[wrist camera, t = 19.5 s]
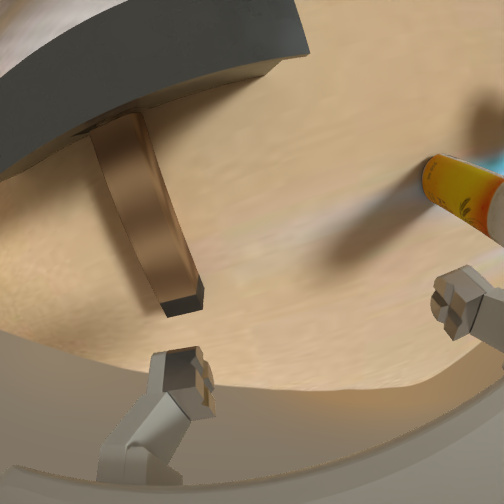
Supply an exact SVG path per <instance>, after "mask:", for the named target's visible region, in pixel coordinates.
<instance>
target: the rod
mask: <svg viewBox="0 0 504 504" xmlns="http://www.w3.org/2000/svg"><path fill="white" fill-rule="evenodd" d="M89 133H90V136H91V139H92V143H93V146H94V149H95V152H96V155H97V158H98V160H99V163H100V166H101V169H102V172H103V174H104V177H105V180H106V183H107V185H108V188H109V191H110V193H111V196H112V198H113V201H114V203H115V206H116V208H117V211H118V213H119V216H120V218H121V221H122V223H123V225H124V228H125V230H126V233H127V235H128V237H129V239H130V242H131V244H132V246H133V248H134V251H135V253H136V255H137V257H138V260H139V262H140V264H141V266H142V268H143V270H144V272H145V274H146V277H147V279H148V281H149V283H150V285H151V287H152V289H153V291H154V293H155V295H156V297H157V299H158V301H159V303H160V305H161V307H162V309H163V310H164V312H165V314H166V316H167V318H169V317H173V316H178V315H182V314H186V313H191V312H195V311H199V310H203V299H204V286H203V284H202V281H201V279H200V276H199V274H198V271H197V269H196V266H195V264H194V261H193V258H192V256H191V253H190V251H189V248H188V246H187V243H186V240H185V238H184V235H183V232H182V230H181V227H180V224H179V222H178V219H177V216H176V214H175V211H174V208H173V205H172V203H171V200H170V197H169V194H168V191H167V188H166V186H165V183H164V180H163V177H162V174H161V171H160V168H159V165H158V162H157V159H156V156H155V153H154V150H153V147H152V144H151V141H150V138H149V134H148V131H147V128H146V125H145V122H144V118H143V115H142V113H129V114H127V115H124V116H122V117H120V118H117V119H115V120H113V121H111V122H108V123H106V124H104V125H102V126H100V127H98V128H96V129H93V130H91V131H89Z"/></svg>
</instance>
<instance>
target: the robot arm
mask: <svg viewBox="0 0 504 504" xmlns="http://www.w3.org/2000/svg"><path fill="white" fill-rule="evenodd" d="M433 287H434V288H435V292H434V293H433V295H432V296H431V302H430V306H431V311H432V313H433V315H434V317H435V318H436V320H437V321H439V322H441V323H444V330H445V331H446V332H447V334H448V335H449V336H450V338H451V339H452V340H453V341H455V340H457V339H459V338H461V337H463V336H465V335H467V334H469V333H470V334H471V335H472V336H474V337H476V338H478V339H480V340H481V341H483V342H485V343H487V344H489V345H490V346H492V347H494V348H496V349H498V350H499V351H501V352H503V353H504V289H501V288H498V287H497V288H494V287H493V286H492V285H491V284H490V283H489V282H488V281H487V280H486V279H485V278H484V277H483V276H481V275H480V274H479V273H478V272H477V271H476V270H475V269H474V268H473V267H471V266H469V265H465V266H463V267H461V268H458V269H456V270H453V271H451V272H448V273H446V274H444V275H441V276H439V277H437V278H436V279H435V281H434V286H433ZM502 368H503V369H504V362H503V364H502ZM213 390H214V380H213V375H212V371H211V368H210V366H209V364H208V362H207V361H205V360H203V352H202V350H201V349H200V347H199V346H194V347H188V348H182V349H176V350H169V351H164V352H157V353H153V355H152V357H151V362H150V369H149V375H148V383H147V390H146V394H144V395H141V397H140V398H139V399H138V400H137V401H136V403H135V404H134V405H133V406H132V408H131V409H130V410H129V412H128V413H127V414H126V415H125V416H124V417H123V419H122V420H121V421H120V423H119V424H118V425H117V426H116V427H115V429H114V430H113V431H112V432H111V433H110V435H109V436H108V437H107V438H106V440H105V441H104V442H103V443H102V445H101V449H100V455H99V462H98V470H97V478H96V481H90V480H84V479H77V478H71V477H66V476H60V475H55V474H51V473H47V472H42V471H38V470H35V469H31V468H27V467H24V466H20V465H12V466H10V467H9V468H8V469H6V470H5V471H4V472H3V473H2V474H1V475H0V504H504V376H503V377H502V378H500V379H499V380H498V381H496V382H495V383H493V384H492V385H490V386H489V387H488V388H486V389H484V390H483V391H481V392H480V393H478V394H477V395H475V396H474V397H472V398H470V399H469V400H467V401H466V402H464V403H462V404H461V405H459V406H457V407H456V408H454V409H452V410H450V411H448V412H447V413H445V414H443V415H441V416H439V417H437V418H436V419H434V420H432V421H430V422H428V423H426V424H424V425H422V426H420V427H418V428H416V429H414V430H411V431H409V432H407V433H405V434H403V435H400V436H398V437H396V438H393V439H391V440H389V441H386V442H384V443H381V444H379V445H376V446H374V447H371V448H368V449H366V450H363V451H360V452H357V453H354V454H352V455H349V456H345V457H342V458H339V459H336V460H333V461H330V462H326V463H322V464H319V465H315V466H311V467H307V468H303V469H299V470H295V471H291V472H286V473H282V474H276V475H271V476H266V477H260V478H254V479H247V480H240V481H232V482H224V483H212V484H199V485H183V479H182V478H183V477H182V475H181V474H180V473H179V472H177V471H176V470H174V469H173V468H171V467H170V466H168V463H169V462H170V460H171V458H172V456H173V455H174V453H175V451H176V449H177V447H178V446H179V444H180V442H181V440H182V438H183V437H184V435H185V433H186V431H187V429H188V427H189V426H190V424H191V421H194V420H200V419H207V418H213V417H216V409H215V399H214V397H213V396H212V394H211V393H212V391H213Z"/></svg>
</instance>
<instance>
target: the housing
mask: <svg viewBox="0 0 504 504" xmlns="http://www.w3.org/2000/svg"><path fill="white" fill-rule="evenodd" d="M308 54H310V51H309V47H308V44H307V40H306V37H305V34H304V30H303V27H302V24H301V21H300V18H299V14H298V11H297V8H296V5H295V3H294V0H128V1H126V2H123V3H121V4H119V5H116V6H114V7H112V8H110V9H108V10H106V11H103V12H101V13H99V14H97V15H95V16H93V17H91V18H89V19H88V20H86V21H84V22H82V23H80V24H78V25H76V26H75V27H73V28H71V29H69V30H68V31H66V32H64V33H63V34H61V35H59V36H58V37H56V38H55V39H53V40H51V41H50V42H48V43H47V44H45V45H44V46H42V47H41V48H39V49H38V50H36V51H35V52H34V53H32V54H31V55H29V56H28V57H27V58H25V59H24V60H22V61H21V62H20V63H18V64H17V65H16V66H15V67H13V68H12V69H11V70H10V71H8V72H7V73H6V74H5V75H3V76H2V77H1V78H0V182H2V181H4V180H6V179H8V178H11V177H13V176H15V175H17V174H19V173H22V172H23V171H25V170H27V169H28V168H30V167H31V166H33V165H35V164H36V163H38V162H40V161H41V160H43V159H45V158H46V157H48V156H50V155H52V154H53V153H55V152H57V151H59V150H61V149H62V148H64V147H66V146H68V145H70V144H72V143H74V142H76V141H78V140H80V139H82V138H84V137H86V136H88V135H90V133H89V131H91V130H93V129H96V127H95V124H96V123H99V122H101V121H103V120H105V119H107V118H109V117H112V116H114V115H116V114H118V113H121V112H123V111H125V110H128V109H130V108H152V107H155V106H158V105H161V104H163V103H166V102H169V101H172V100H175V99H178V98H181V97H184V96H187V95H190V94H193V93H197V92H200V91H203V90H207V89H210V88H214V87H217V86H221V85H225V84H229V83H233V82H237V81H241V80H245V79H249V78H254V77H258V76H263V75H266V74H267V73H268V72H269V71H270V70H271V69H273V68H274V67H275V66H276V65H277V64H278V63H279V62H281V61H282V60H285V59H292V58H298V57H305V56H307V55H308Z"/></svg>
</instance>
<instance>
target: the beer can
mask: <svg viewBox="0 0 504 504" xmlns="http://www.w3.org/2000/svg"><path fill="white" fill-rule="evenodd" d="M422 185H423V190H424V193H425V195H426V197H427V198H428V199H429V200H430V201H432V202H433V203H435V204H437V205H439V206H440V207H442V208H444V209H445V210H447V211H449V212H450V213H452V214H454V215H455V216H457V217H459V218H460V219H462V220H463V221H465V222H467V223H468V224H470V225H471V226H473V227H474V228H476V229H477V230H479V231H480V232H482V233H483V234H485V235H486V236H488V237H489V238H491V239H492V240H494V241H495V242H497V243H498V244H499V245H501V246H502V247H504V176H503V175H500V174H498V173H495V172H493V171H491V170H488V169H485V168H483V167H480V166H478V165H475V164H472V163H470V162H467V161H464V160H461V159H458V158H455V157H452V156H449V155H446V154H438V155H436V156H434V157H433V158H431V159H430V160H429V161H428V162H427V164H426V165H425V167H424V170H423V173H422Z"/></svg>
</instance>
